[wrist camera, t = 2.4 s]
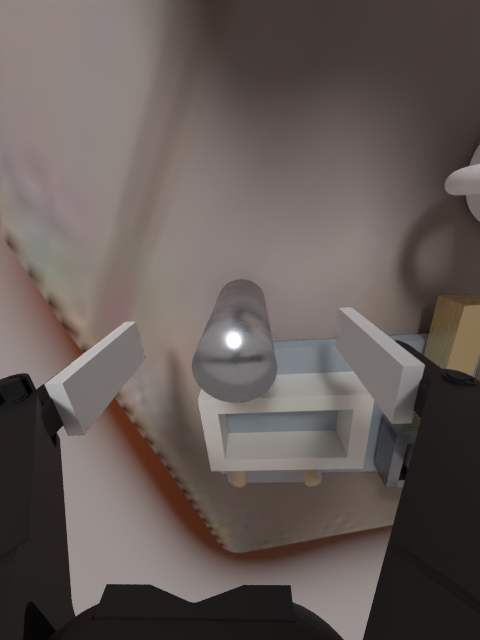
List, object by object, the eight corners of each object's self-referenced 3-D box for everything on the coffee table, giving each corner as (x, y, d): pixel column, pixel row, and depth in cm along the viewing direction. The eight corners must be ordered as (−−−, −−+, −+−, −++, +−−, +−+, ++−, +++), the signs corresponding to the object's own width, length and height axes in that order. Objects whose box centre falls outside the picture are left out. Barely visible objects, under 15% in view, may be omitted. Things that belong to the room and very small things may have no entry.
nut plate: (202, 345, 22) (168, 434, 13) (475, 330, 20) (661, 420, 11) (221, 464, 28) (207, 582, 19) (433, 460, 26) (531, 587, 17)
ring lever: (405, 297, 18) (426, 308, 16) (500, 291, 18) (536, 301, 15) (373, 463, 25) (385, 487, 23) (441, 462, 25) (460, 486, 22)
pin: (215, 281, 20) (185, 333, 10) (263, 277, 19) (276, 328, 10) (221, 325, 21) (199, 404, 12) (265, 322, 21) (278, 401, 12)
